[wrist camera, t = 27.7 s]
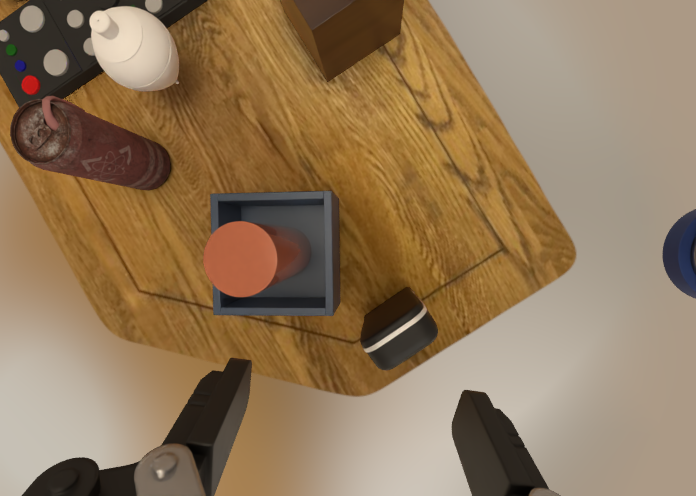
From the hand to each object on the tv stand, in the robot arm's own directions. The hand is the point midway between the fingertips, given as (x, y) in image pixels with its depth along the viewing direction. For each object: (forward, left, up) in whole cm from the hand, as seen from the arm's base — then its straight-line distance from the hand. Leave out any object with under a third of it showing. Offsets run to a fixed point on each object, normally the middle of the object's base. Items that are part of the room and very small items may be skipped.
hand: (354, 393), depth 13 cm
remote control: (+32, -34, -28) cm, 55 cm away
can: (+27, -15, -28) cm, 42 cm away
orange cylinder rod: (+10, -4, -27) cm, 29 cm away
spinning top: (+23, -25, -28) cm, 44 cm away
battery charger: (-3, +3, -28) cm, 28 cm away
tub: (+10, -4, -28) cm, 30 cm away
